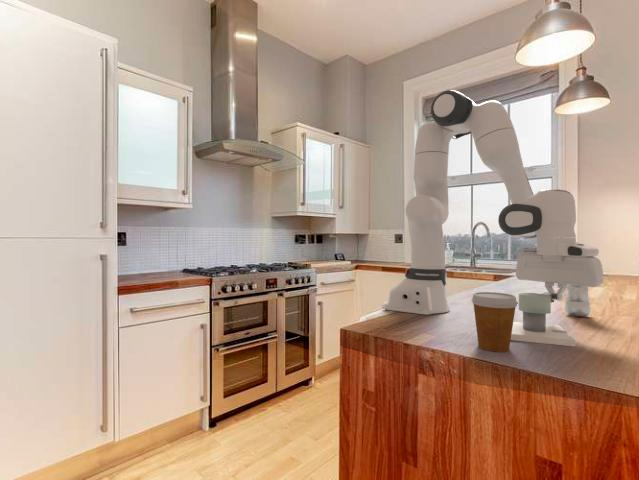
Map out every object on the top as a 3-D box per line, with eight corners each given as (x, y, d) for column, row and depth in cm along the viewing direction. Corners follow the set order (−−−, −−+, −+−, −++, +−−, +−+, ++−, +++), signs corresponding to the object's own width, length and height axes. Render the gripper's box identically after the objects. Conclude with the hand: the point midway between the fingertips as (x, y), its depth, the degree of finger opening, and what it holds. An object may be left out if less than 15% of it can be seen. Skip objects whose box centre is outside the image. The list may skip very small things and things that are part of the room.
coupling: (545, 315, 85) (546, 298, 85) (514, 310, 90) (514, 294, 90) (564, 305, 96) (565, 291, 96) (536, 301, 101) (536, 288, 101)
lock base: (506, 339, 86) (506, 315, 86) (500, 325, 99) (500, 304, 99) (575, 346, 81) (575, 320, 81) (559, 331, 94) (559, 308, 94)
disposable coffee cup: (477, 338, 87) (477, 290, 86) (521, 346, 81) (521, 294, 80) (465, 348, 79) (465, 295, 79) (512, 357, 73) (513, 300, 73)
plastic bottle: (595, 318, 107) (596, 253, 107) (570, 317, 109) (571, 253, 108) (583, 314, 114) (584, 252, 113) (560, 313, 115) (561, 252, 115)
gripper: (511, 248, 102) (511, 295, 102) (594, 250, 84) (594, 307, 84) (523, 247, 105) (523, 293, 105) (606, 249, 87) (606, 304, 88)
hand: (555, 299), depth 95 cm, fingers closed
